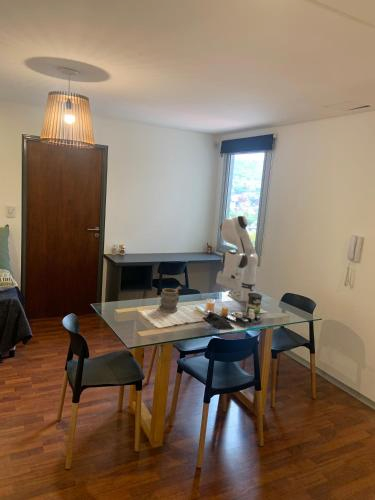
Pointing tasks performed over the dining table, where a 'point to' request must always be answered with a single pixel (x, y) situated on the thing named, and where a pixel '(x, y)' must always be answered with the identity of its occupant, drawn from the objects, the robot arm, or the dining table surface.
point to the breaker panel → (243, 319)
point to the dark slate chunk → (218, 321)
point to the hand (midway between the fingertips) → (227, 293)
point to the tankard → (169, 300)
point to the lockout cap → (224, 311)
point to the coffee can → (253, 303)
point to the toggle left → (239, 314)
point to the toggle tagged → (251, 315)
